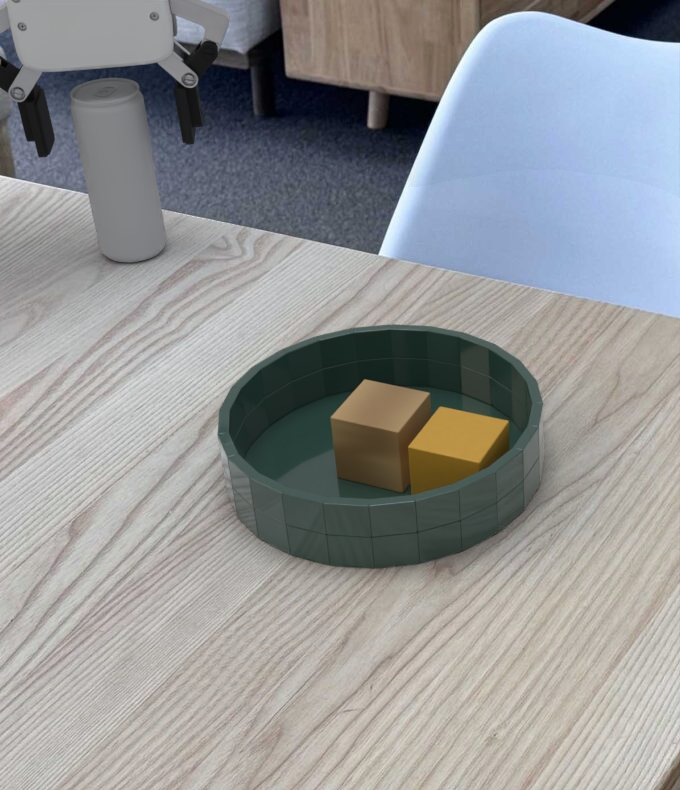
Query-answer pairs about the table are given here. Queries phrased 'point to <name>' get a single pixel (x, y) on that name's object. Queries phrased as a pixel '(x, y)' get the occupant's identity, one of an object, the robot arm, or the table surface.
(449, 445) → the mustard block
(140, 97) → the beverage can
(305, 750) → the table surface
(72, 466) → the table surface
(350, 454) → the maple block
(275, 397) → the bowl
